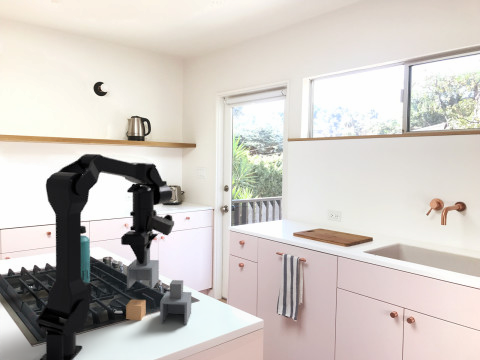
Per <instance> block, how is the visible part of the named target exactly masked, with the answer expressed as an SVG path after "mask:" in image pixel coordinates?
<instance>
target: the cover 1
mask: <svg viewBox="0 0 480 360" xmlns="http://www.w3.org/2000/svg"><path fill="white" fill-rule="evenodd" d="M135 258H136V257H135ZM159 264H160V260H159V259H157V260H156V259H151V248H150V249H148V248H146V252H145V258H144V263H143V264H139V262H138V260H137V258H136V259H134V260H132V262H131V263H130V264H129V265H128V266H127V267H126V289H130V288H131V287H132V286H133V285H134V284H135V283H136V281H149V290H153V289H154V287H155V286H156V284H157V283H158V282H159V281H160V279H159V278H160V274H159V273H160V271H159V269H160V266H159Z"/></svg>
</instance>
